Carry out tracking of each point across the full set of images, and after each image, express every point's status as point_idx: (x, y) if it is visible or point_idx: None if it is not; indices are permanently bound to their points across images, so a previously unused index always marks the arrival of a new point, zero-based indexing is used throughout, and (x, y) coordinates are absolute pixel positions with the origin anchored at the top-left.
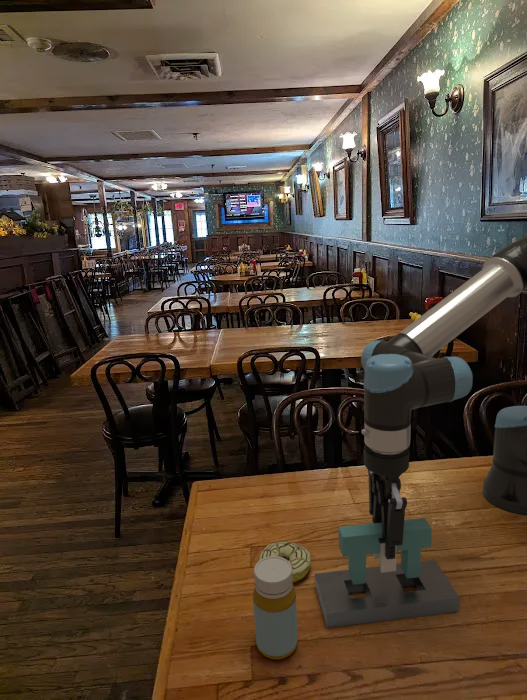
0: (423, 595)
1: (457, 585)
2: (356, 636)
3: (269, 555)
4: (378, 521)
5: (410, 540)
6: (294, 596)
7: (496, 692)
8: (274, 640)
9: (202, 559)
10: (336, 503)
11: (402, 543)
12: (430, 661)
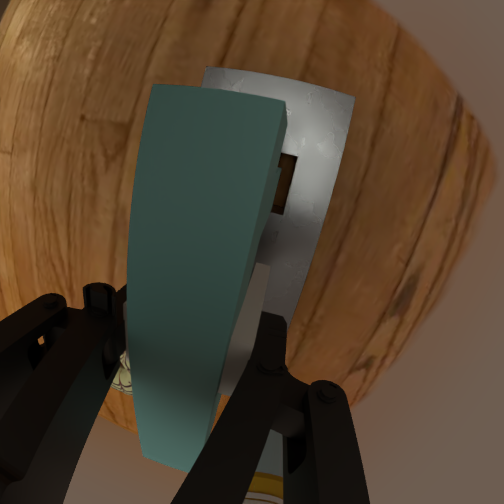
0: (313, 176)
1: (275, 53)
2: (308, 333)
3: (113, 383)
4: (115, 356)
5: (256, 243)
6: (278, 482)
7: (487, 193)
8: None
9: (105, 408)
10: (7, 186)
11: (346, 398)
12: (413, 248)
